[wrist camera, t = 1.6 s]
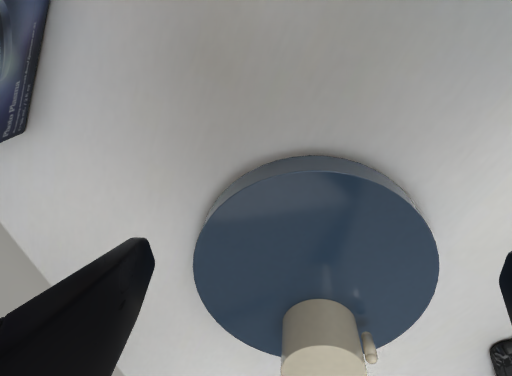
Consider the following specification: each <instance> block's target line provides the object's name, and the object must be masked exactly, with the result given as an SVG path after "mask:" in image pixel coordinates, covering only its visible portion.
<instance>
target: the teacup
mask: <svg viewBox="0 0 512 376" xmlns="http://www.w3.org/2000/svg"><path fill="white" fill-rule="evenodd" d="M361 340H362V345H363V349H364V354H365V358H366V361H367V362H368V363H370V364H375V363H376V362H377V360H378V356H377V352H376V348H375V344H374V341H373V337H372V334H371V333H369V332H363V333H362V334H361ZM281 376H367V370H366V365H365V361H364V356H363V351H362V347H361V342H360V337H359V332H358V328H357V323H356V319H355V317H354V315H353V314H352V313H351V311H350V310H349V309H348V308H346V307H345V306H343V305H342V304H340V303H338V302H335V301H332V300H327V299H310V300H306V301H302V302H300V303H298V304H296V305H294V306H293V307H291V308H290V309H289V310H288V311H287V312H286V314H285V315H284V318H283V321H282V343H281Z"/></svg>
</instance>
